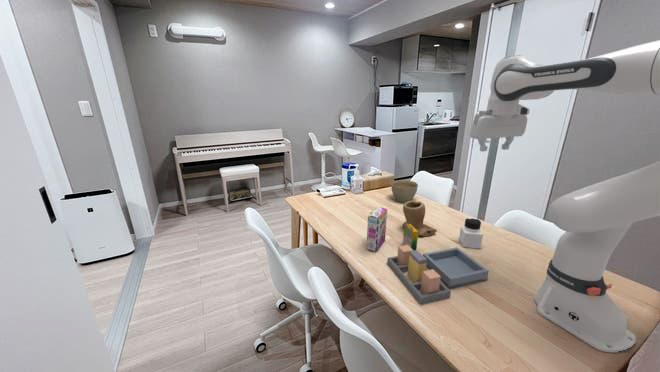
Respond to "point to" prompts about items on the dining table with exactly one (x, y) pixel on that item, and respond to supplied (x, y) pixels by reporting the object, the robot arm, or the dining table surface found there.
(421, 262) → the yellow box
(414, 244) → the crayon box
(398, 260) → the block
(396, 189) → the planter bowl
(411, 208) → the brown clay vase
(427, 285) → the block
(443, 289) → the slot holder
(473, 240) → the medicine bottle
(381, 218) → the candy bar box
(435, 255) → the tray
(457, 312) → the dining table surface
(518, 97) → the robot arm
